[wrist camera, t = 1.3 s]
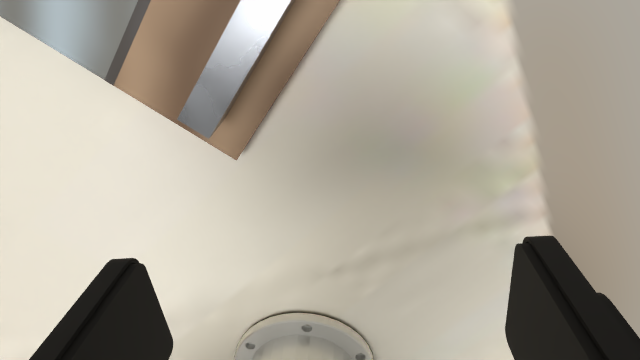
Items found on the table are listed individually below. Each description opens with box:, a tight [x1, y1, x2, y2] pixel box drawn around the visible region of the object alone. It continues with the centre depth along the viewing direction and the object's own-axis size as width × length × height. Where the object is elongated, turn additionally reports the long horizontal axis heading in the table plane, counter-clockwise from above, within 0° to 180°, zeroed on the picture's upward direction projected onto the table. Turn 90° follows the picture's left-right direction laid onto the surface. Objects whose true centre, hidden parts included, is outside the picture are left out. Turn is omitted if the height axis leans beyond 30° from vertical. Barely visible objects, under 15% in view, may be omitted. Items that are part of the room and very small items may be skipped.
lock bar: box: [177, 0, 295, 139], centre depth 22 cm, size 14×3×3 cm, turn 146°
